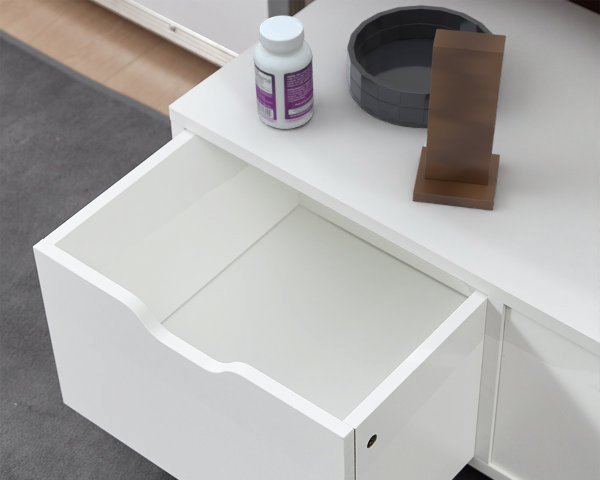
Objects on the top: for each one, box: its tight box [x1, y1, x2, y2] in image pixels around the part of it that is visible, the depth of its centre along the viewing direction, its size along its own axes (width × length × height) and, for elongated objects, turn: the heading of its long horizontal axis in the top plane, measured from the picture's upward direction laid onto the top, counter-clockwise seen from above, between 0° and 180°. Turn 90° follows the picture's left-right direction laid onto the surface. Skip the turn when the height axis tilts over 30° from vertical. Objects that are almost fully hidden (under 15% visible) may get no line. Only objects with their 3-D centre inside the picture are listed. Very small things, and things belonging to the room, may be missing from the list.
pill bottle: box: [253, 15, 315, 130], centre depth 113 cm, size 5×5×10 cm
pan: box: [346, 4, 494, 129], centre depth 118 cm, size 14×14×4 cm
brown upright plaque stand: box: [412, 29, 507, 211], centre depth 104 cm, size 7×6×15 cm
